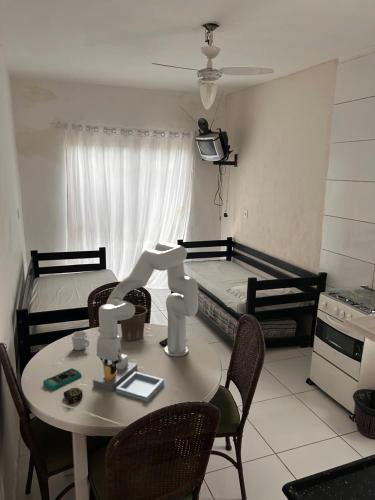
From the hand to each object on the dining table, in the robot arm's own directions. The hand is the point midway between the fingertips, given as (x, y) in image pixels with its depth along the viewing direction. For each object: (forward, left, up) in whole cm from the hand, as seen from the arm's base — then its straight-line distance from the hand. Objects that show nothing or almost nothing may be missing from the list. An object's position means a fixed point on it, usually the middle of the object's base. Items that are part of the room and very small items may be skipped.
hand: (110, 371), depth 161 cm
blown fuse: (0, 0, -4) cm, 4 cm away
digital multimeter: (+8, -20, -7) cm, 23 cm away
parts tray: (-3, +14, -6) cm, 15 cm away
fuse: (-10, 0, -6) cm, 11 cm away
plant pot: (-46, -17, -6) cm, 49 cm away
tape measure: (+17, -7, -6) cm, 19 cm away
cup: (-21, -33, -6) cm, 40 cm away
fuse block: (-5, 0, -6) cm, 8 cm away
